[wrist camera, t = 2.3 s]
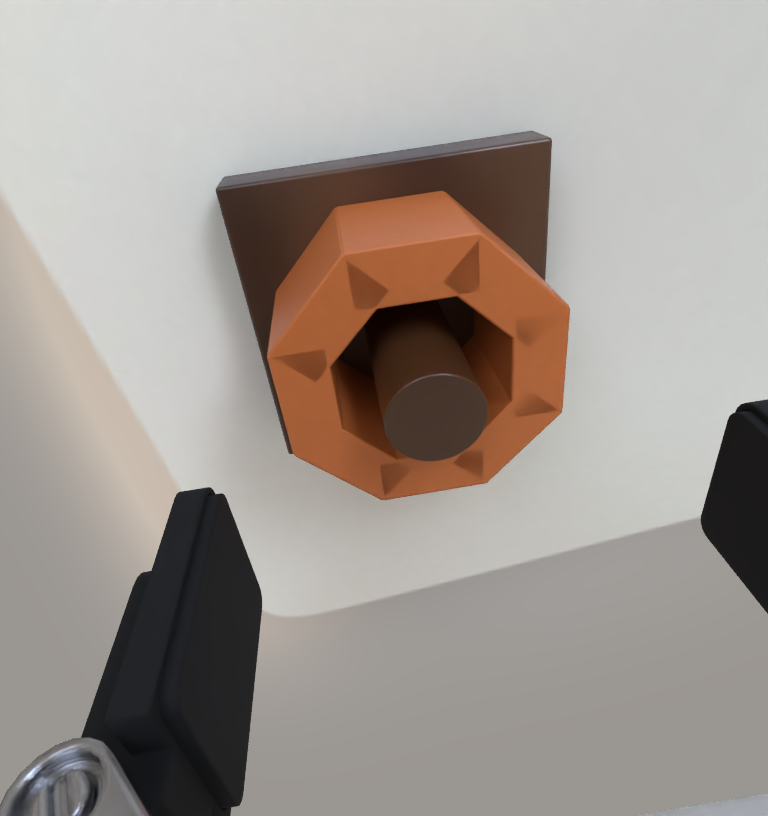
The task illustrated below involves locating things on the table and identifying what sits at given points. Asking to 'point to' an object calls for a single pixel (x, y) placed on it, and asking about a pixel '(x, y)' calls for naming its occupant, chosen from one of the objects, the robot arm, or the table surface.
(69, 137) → the table surface
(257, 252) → the stand
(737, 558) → the robot arm
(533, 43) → the table surface
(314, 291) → the ring
